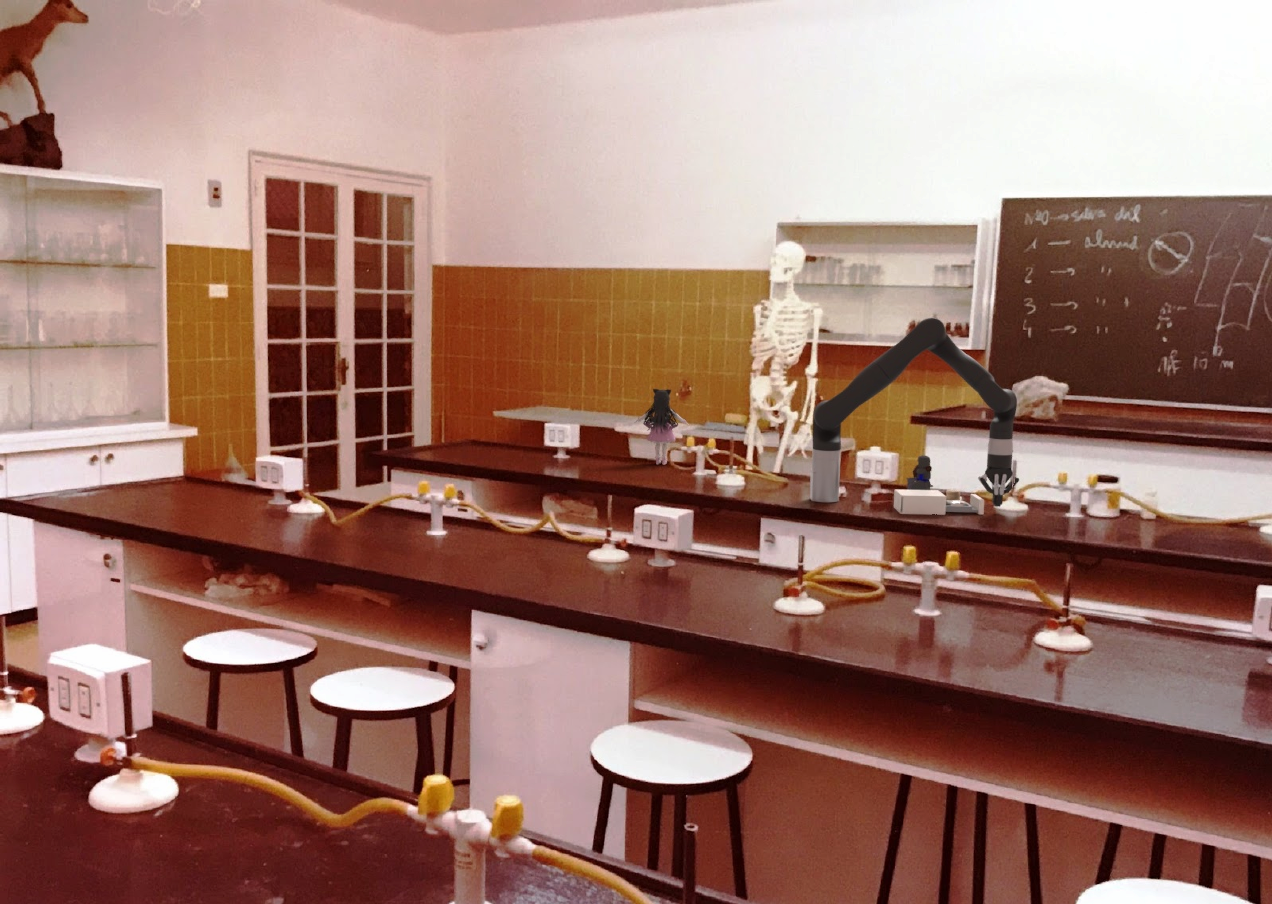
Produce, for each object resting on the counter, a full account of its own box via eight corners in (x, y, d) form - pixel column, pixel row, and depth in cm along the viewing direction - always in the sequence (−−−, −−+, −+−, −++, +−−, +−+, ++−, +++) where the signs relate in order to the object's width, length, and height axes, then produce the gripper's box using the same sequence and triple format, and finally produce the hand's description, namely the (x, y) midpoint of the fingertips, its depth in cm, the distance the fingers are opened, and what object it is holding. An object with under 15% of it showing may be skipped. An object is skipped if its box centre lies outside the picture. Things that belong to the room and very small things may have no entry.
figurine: (690, 463, 456) (692, 389, 452) (686, 467, 446) (687, 391, 442) (636, 461, 461) (637, 387, 457) (630, 464, 451) (631, 389, 447)
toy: (906, 495, 392) (908, 452, 390) (934, 497, 388) (937, 454, 386) (898, 500, 383) (901, 456, 381) (927, 503, 379) (930, 458, 377)
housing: (900, 513, 359) (901, 495, 358) (893, 507, 370) (894, 489, 369) (945, 514, 359) (946, 496, 358) (937, 508, 370) (937, 490, 369)
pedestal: (947, 507, 371) (948, 492, 371) (944, 504, 376) (944, 489, 375) (961, 507, 371) (961, 492, 371) (957, 505, 376) (958, 490, 375)
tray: (932, 513, 359) (933, 499, 358) (924, 507, 369) (925, 493, 369) (983, 514, 359) (984, 500, 358) (974, 508, 369) (975, 494, 368)
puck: (947, 508, 361) (947, 503, 361) (942, 504, 367) (942, 499, 367) (967, 508, 361) (967, 503, 360) (962, 505, 367) (962, 500, 367)
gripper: (1017, 451, 365) (1014, 504, 367) (975, 450, 365) (973, 503, 367) (1024, 454, 357) (1021, 508, 360) (982, 453, 358) (979, 508, 360)
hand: (997, 506), depth 364 cm, fingers closed
